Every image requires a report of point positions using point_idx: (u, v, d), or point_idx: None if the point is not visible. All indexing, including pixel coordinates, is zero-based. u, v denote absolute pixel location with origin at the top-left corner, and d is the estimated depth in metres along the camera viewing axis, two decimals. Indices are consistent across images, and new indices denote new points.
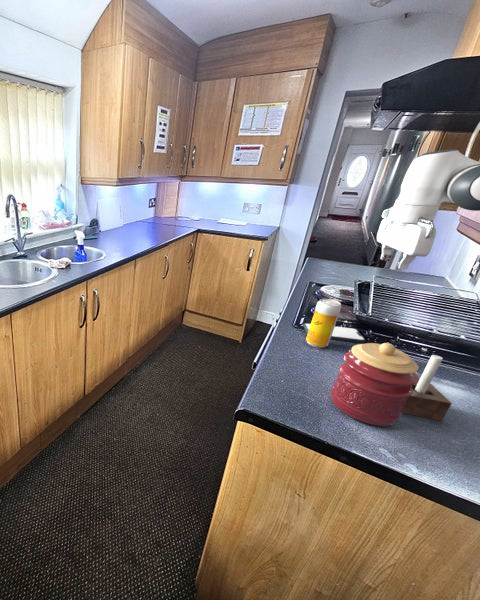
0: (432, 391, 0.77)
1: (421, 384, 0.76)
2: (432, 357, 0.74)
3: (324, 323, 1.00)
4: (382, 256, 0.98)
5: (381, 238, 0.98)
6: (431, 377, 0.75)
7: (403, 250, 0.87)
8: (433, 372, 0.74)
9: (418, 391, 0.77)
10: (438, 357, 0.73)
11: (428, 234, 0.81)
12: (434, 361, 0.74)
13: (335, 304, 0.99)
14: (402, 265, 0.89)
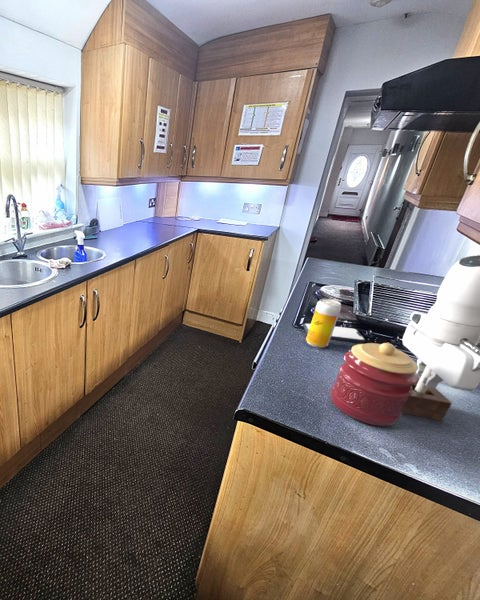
0: (432, 391, 0.77)
1: (421, 384, 0.76)
2: None
3: (324, 323, 1.00)
4: (417, 373, 0.78)
5: (408, 343, 0.81)
6: None
7: (441, 376, 0.70)
8: None
9: (418, 391, 0.77)
10: None
11: (476, 367, 0.63)
12: None
13: (335, 304, 0.99)
14: (430, 383, 0.74)
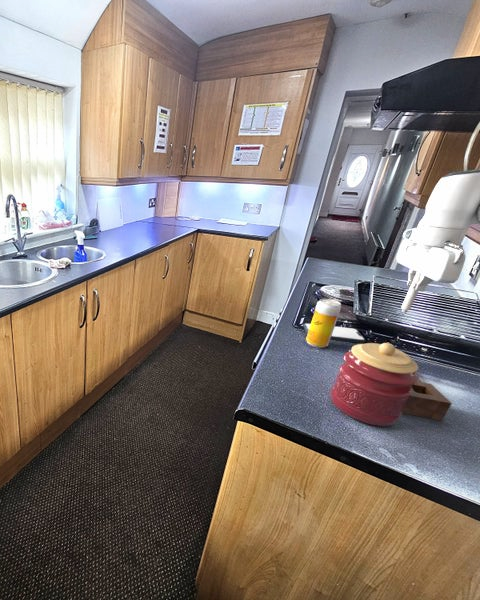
0: (432, 391, 0.77)
1: (411, 290, 0.88)
2: None
3: (324, 323, 1.00)
4: (409, 282, 0.90)
5: (401, 259, 0.93)
6: None
7: (428, 275, 0.82)
8: None
9: (409, 296, 0.89)
10: None
11: (457, 260, 0.76)
12: None
13: (335, 304, 0.99)
14: (419, 287, 0.86)
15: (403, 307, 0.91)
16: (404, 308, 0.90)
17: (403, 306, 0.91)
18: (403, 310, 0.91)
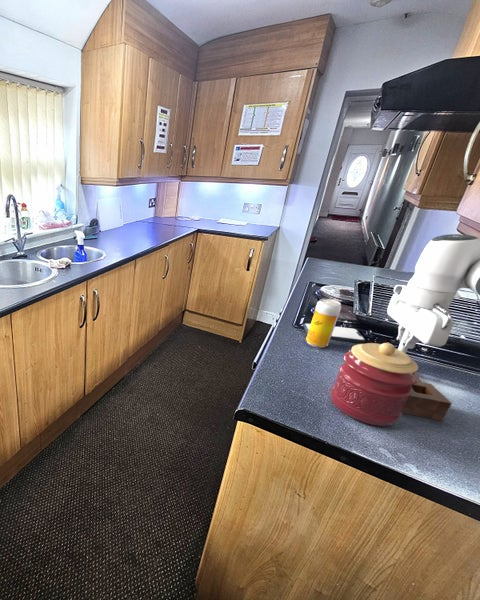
0: (432, 391, 0.77)
1: (402, 344, 0.89)
2: None
3: (324, 323, 1.00)
4: (399, 337, 0.90)
5: (392, 313, 0.93)
6: None
7: (417, 336, 0.82)
8: None
9: (400, 350, 0.89)
10: None
11: (444, 326, 0.76)
12: None
13: (335, 304, 0.99)
14: (408, 344, 0.87)
15: None
16: None
17: None
18: None
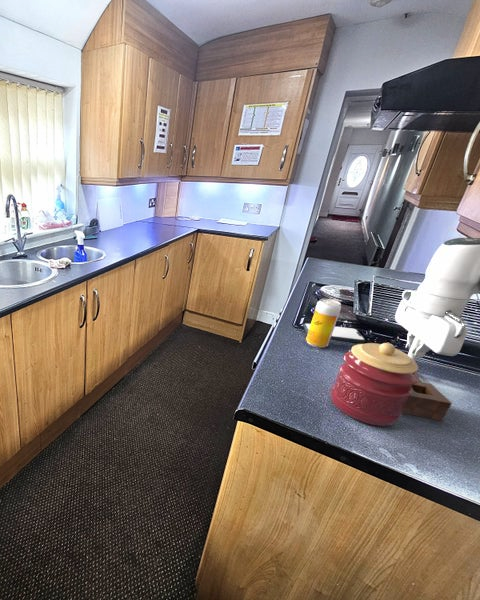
0: (432, 391, 0.77)
1: None
2: None
3: (324, 323, 1.00)
4: (408, 345, 0.86)
5: (400, 319, 0.89)
6: None
7: (427, 344, 0.78)
8: None
9: None
10: None
11: (458, 334, 0.72)
12: None
13: (335, 304, 0.99)
14: (418, 353, 0.83)
15: None
16: None
17: None
18: None
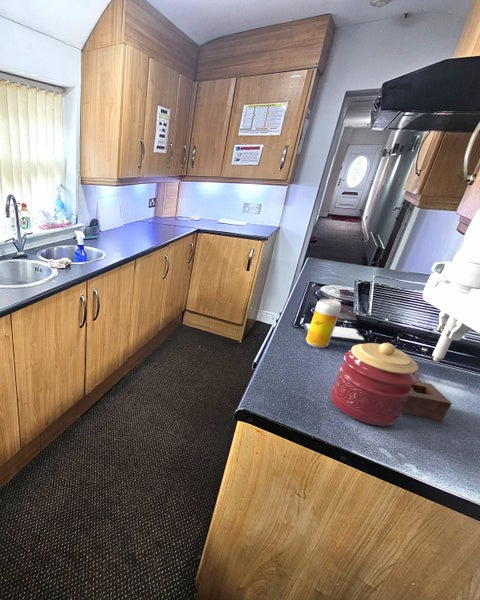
0: (432, 391, 0.77)
1: (445, 335, 0.71)
2: None
3: (324, 323, 1.00)
4: (440, 327, 0.73)
5: (430, 297, 0.76)
6: None
7: (468, 324, 0.65)
8: None
9: (442, 343, 0.72)
10: None
11: None
12: None
13: (335, 304, 0.99)
14: (454, 335, 0.69)
15: (435, 355, 0.73)
16: (436, 356, 0.73)
17: (435, 354, 0.73)
18: (435, 358, 0.74)
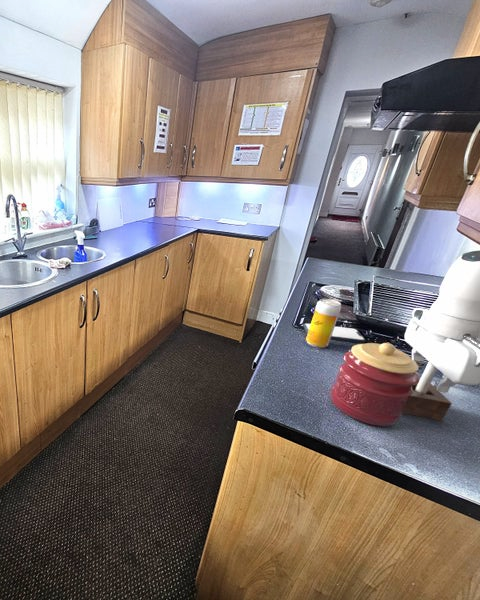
0: (432, 391, 0.77)
1: (421, 384, 0.76)
2: None
3: (324, 323, 1.00)
4: None
5: (411, 340, 0.80)
6: (431, 377, 0.75)
7: (443, 371, 0.69)
8: (433, 372, 0.74)
9: (419, 391, 0.77)
10: None
11: (479, 363, 0.63)
12: None
13: (335, 304, 0.99)
14: (441, 387, 0.71)
15: None
16: None
17: None
18: None
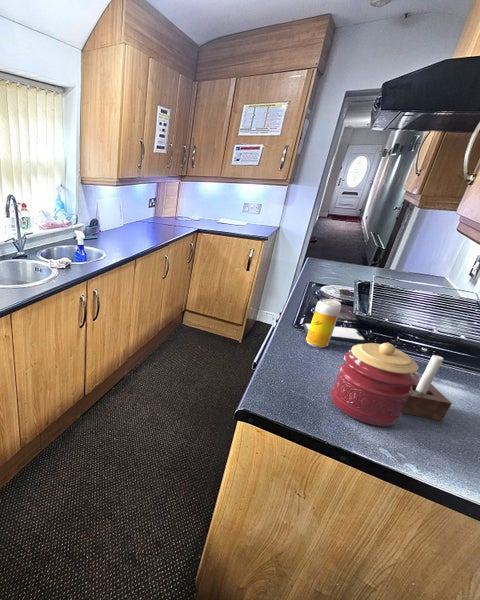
0: (432, 391, 0.77)
1: (422, 384, 0.76)
2: (433, 357, 0.74)
3: (324, 323, 1.00)
4: None
5: None
6: (432, 377, 0.75)
7: None
8: (434, 372, 0.74)
9: (419, 391, 0.77)
10: (439, 357, 0.73)
11: None
12: (435, 361, 0.74)
13: (335, 304, 0.99)
14: None
15: None
16: None
17: None
18: None
